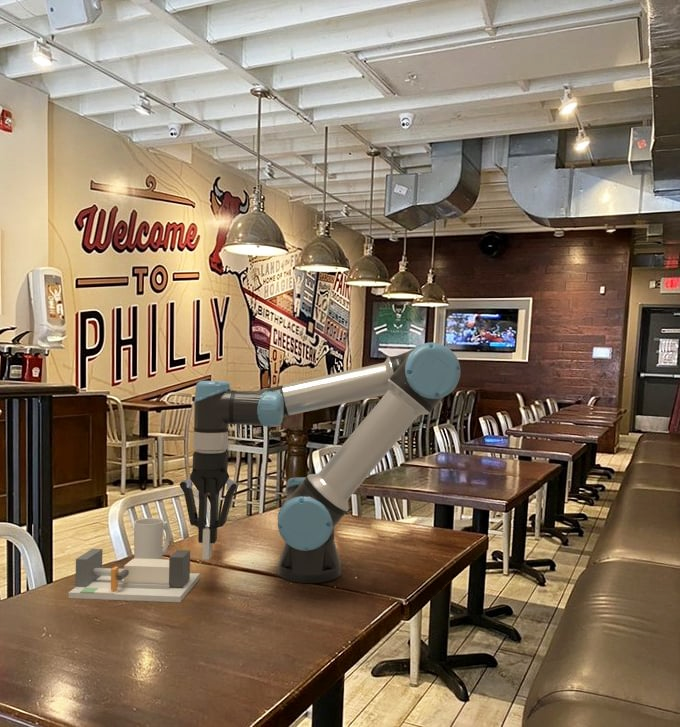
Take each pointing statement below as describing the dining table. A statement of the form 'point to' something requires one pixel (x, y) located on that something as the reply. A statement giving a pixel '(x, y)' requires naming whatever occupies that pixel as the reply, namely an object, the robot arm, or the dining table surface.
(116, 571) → the needle
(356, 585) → the dining table surface
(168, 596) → the base
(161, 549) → the mug
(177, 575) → the beige and grey block
